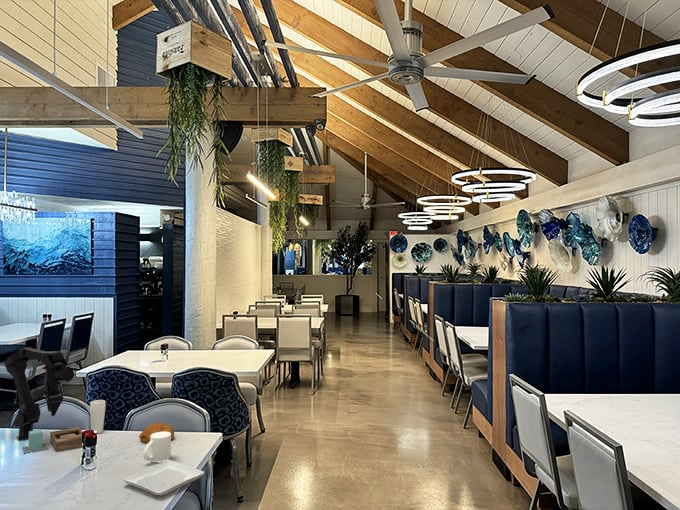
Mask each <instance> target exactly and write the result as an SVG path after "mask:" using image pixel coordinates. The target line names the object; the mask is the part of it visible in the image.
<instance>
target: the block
mask: <svg viewBox="0 0 680 510" xmlns="http://www.w3.org/2000/svg"><path fill="white" fill-rule="evenodd" d="M42 443H43V431H42V429H35V430H34V429H33V431H29V439H28V443H27V444H28V445H27V446H28V448H29V450H34V449H40V448H42Z"/></svg>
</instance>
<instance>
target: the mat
mask: <svg viewBox="0 0 680 510" xmlns="http://www.w3.org/2000/svg"><path fill="white" fill-rule="evenodd" d="M21 449H22V453H23V454H24V455H25V454H26V455H27V454H31V452H32V453H36V452H43V451H47V450H49V446H48V445H47V443H46V442H42V448H40V449H34V450H29V448H28V445H25V446H22V447H21Z"/></svg>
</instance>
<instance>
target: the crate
mask: <svg viewBox="0 0 680 510" xmlns="http://www.w3.org/2000/svg"><path fill="white" fill-rule="evenodd" d="M82 432H83V430H82V428H81V426H78V427H71V428H67V429H61V430H53V431H50V439H49V443H50V445H51V446H52V447H53V450H54V451H55V453H60V451H61V452H64V451H65V450H66V451H70V450H71V451H72V450H74V449H81V448H83V447H82Z"/></svg>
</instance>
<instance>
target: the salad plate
mask: <svg viewBox="0 0 680 510" xmlns="http://www.w3.org/2000/svg"><path fill="white" fill-rule="evenodd" d="M166 469H171V470H175V471H179V472H181V473H184V474H186V475H187V477H186V478H184V481H183V482H181V483H179V484H177V485H175V486H173V487H171V488H169V489H167V490H165V491H163V492H155V491H153V490H151V489H149V488H147V487H144V486H142V485H140V484H137V483H136V482H137V481H138V480H141V479H143V478H144V477H147V476H151V475H155V474H157V473H159V472H161V471H163V470H166ZM204 474H205V471H204V470H201V469H197V468H195V467H192V466H188V465H186V464H183V463H180V462H177V461H175V460H171V459H170V460H168V461H165V462H162V463H157V464H155V465H152V466H151V467H147V468H146V469H143V470H140V471H138V472H136V473H133V474H131V475H129V476H126V477H124V478H123V479H122V480H123V482H125V483H126V484H128V485H130V486H133V487H135V488H138V489H140V488H141V489H140V490H143V489H144V490H143V491H145V490H146V492H148V491H149V492H148V493H150V492H151V494H153V495H155V496H157V495H161V496H164V495H166V493H167V494H168V492H169V493H170V491H171V492H173V491H175V490H177V489H179V488H181V486H182V487H183V485H184V486H185V485H187V484H190V483H192V482H195V481H196V480H198V479H200V478H201V477H202V476H203V475H204ZM178 487H179V488H178ZM176 488H177V489H176ZM174 489H175V490H174ZM172 490H173V491H172ZM163 494H164V495H163Z"/></svg>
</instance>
